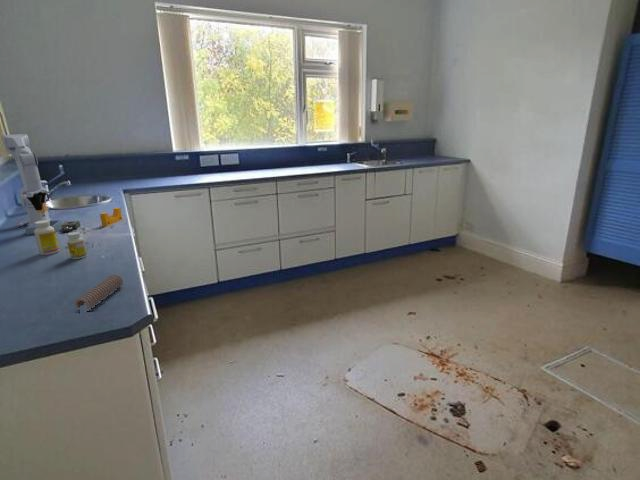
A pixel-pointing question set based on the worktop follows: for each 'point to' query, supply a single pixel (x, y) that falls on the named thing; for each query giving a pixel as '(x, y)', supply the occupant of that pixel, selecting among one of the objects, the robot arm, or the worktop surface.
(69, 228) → the block
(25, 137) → the robot arm
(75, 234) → the supplement bottle
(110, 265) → the worktop surface
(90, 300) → the coil
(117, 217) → the pipe clamp
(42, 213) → the orange rectangular block
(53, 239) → the supplement bottle
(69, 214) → the worktop surface
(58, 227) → the tray
